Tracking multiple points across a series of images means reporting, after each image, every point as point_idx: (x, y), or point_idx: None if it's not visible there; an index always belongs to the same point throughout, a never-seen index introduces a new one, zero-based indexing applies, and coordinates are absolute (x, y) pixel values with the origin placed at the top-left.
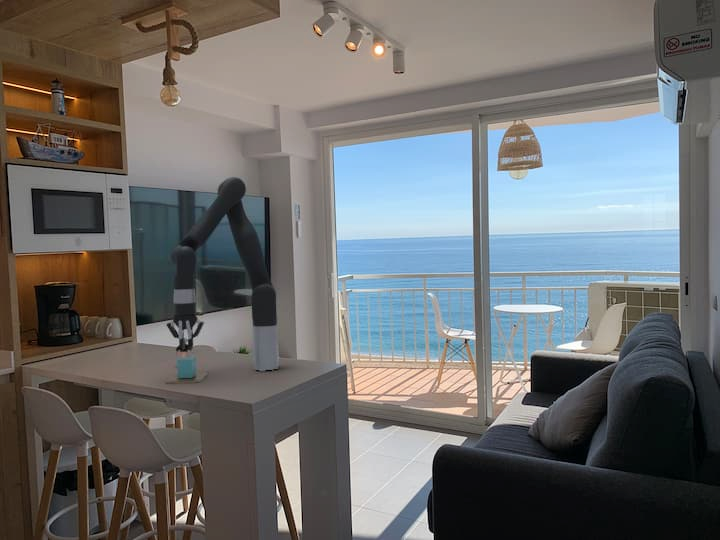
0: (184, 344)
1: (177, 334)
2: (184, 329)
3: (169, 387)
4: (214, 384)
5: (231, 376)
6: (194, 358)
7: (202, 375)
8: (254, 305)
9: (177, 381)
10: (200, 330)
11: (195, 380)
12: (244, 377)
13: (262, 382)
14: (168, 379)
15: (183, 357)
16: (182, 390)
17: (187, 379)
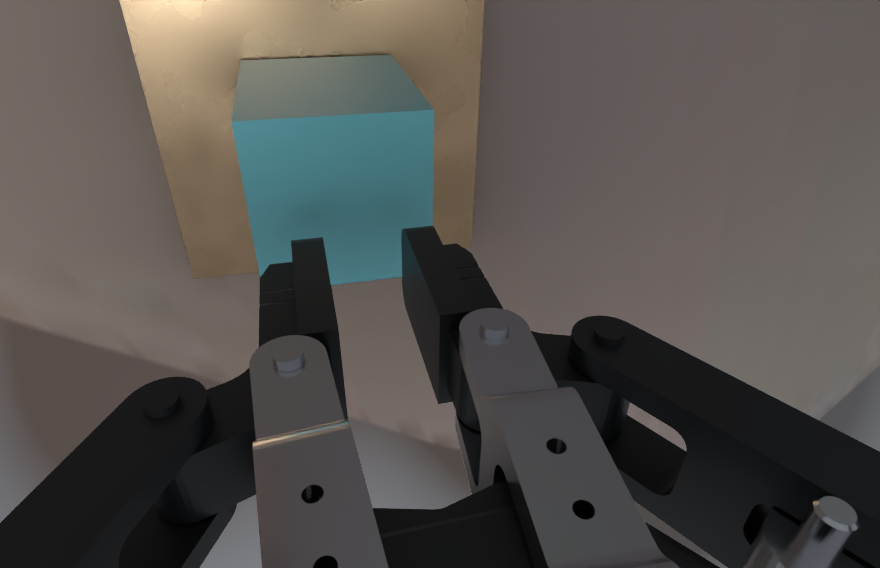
0: (328, 276)
1: (226, 496)
2: (358, 457)
3: None
4: (569, 284)
5: (686, 55)
6: (430, 160)
7: (457, 84)
8: None
9: None
10: (738, 390)
11: None
12: (770, 103)
13: (833, 243)
14: (182, 216)
15: (277, 147)
16: (401, 405)
17: None
